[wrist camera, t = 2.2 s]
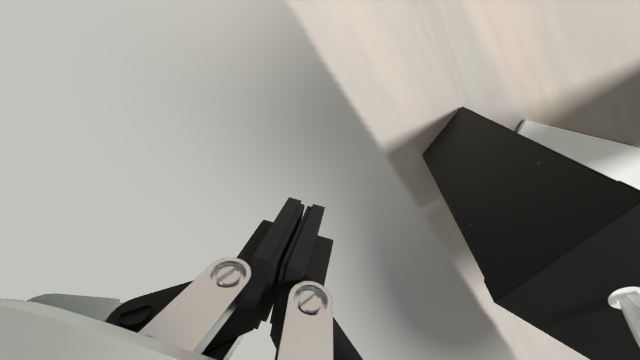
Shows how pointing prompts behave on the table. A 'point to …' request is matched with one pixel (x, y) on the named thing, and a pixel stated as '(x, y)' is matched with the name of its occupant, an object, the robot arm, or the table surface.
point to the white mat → (589, 151)
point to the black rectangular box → (545, 234)
